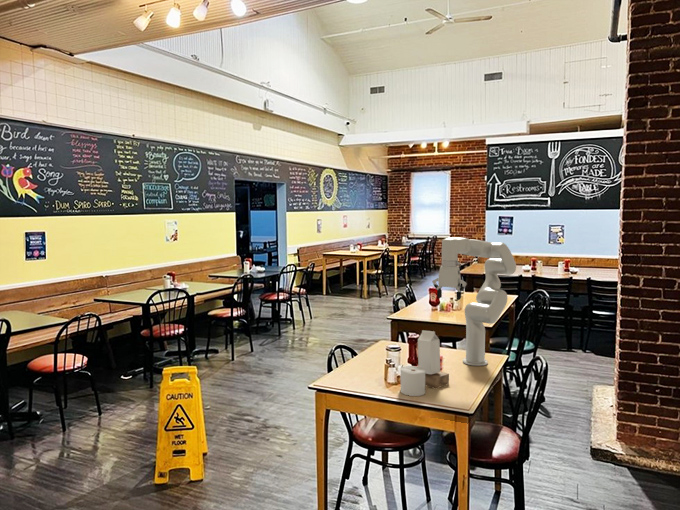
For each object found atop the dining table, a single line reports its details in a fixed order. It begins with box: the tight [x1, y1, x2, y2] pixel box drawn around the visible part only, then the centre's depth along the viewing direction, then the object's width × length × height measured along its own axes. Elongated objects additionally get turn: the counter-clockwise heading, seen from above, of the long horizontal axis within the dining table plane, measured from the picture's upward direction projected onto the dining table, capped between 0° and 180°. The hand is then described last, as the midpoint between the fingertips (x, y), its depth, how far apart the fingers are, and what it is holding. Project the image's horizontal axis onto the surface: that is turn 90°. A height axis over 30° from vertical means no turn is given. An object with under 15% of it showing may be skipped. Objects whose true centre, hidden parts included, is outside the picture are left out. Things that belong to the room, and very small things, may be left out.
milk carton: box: [417, 329, 441, 374], centre depth 227 cm, size 7×7×19 cm
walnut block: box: [425, 370, 450, 389], centre depth 227 cm, size 10×10×5 cm
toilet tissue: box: [400, 364, 426, 397], centre depth 216 cm, size 11×12×10 cm
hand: (448, 298), depth 242 cm, fingers open, 9 cm apart
